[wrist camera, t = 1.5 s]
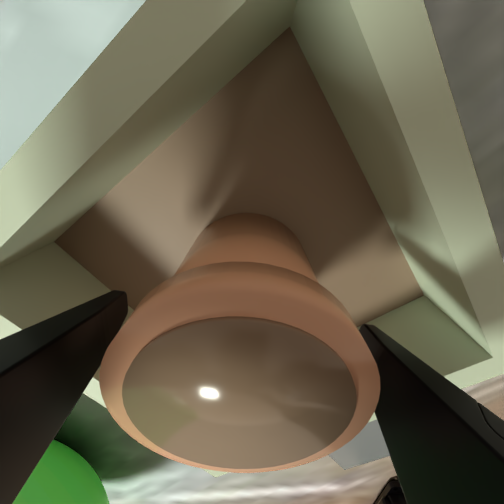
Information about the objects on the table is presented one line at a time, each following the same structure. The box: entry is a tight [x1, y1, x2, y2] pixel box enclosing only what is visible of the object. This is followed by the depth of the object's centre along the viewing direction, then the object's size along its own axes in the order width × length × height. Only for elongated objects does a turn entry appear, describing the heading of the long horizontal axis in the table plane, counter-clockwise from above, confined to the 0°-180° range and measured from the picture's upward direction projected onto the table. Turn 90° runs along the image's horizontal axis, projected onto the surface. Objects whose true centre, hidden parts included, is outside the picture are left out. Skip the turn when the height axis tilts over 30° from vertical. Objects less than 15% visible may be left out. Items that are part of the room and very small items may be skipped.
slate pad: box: [329, 420, 390, 470], centre depth 18 cm, size 10×10×1 cm
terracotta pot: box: [99, 213, 380, 473], centre depth 9 cm, size 7×7×7 cm
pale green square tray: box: [0, 0, 504, 477], centre depth 10 cm, size 16×16×4 cm
